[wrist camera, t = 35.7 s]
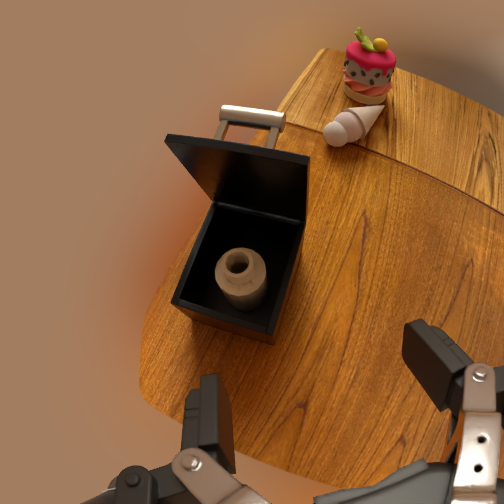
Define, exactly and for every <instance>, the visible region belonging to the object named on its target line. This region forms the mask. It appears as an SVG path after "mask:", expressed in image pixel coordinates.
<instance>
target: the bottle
mask: <svg viewBox="0 0 504 504" xmlns="http://www.w3.org/2000/svg"><path fill="white" fill-rule="evenodd" d="M215 278H216V281H217V283H218V285H219V286H220V288H221V290H222V291H223V293H224V295H225V296H226V298H227V300H228V301H229V303H230V304H231V305H232V306H233V307H234V308H236V309H238V310H241V311H252V310H255V309H257V308H259V307H260V306H261V305H262V304H263V303H264V302H265V300H266V298H267V295H268V283H267V274H266V267H265V262H264V261H263V259H262V258H261V256H260V255H259V254H258V253H256V252H255V251H253V250H251V249H247V248H236V249H232V250H229V251H228V252H226V253H224V254H223V256H222V257H221V258H220V259H219V260H218V262H217V265H216V268H215Z"/></svg>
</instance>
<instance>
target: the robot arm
mask: <svg viewBox="0 0 504 504" xmlns="http://www.w3.org/2000/svg"><path fill="white" fill-rule="evenodd" d="M402 356H403V360H404V362H405V364H406V365H407V366H408V368H409V369H410V370H411V372H412V373H413V375H414V376H415V377H416V379H417V380H418V381H419V383H420V384H421V386H422V387H423V388H424V390H425V391H426V393H427V394H428V395H429V397H430V398H431V400H432V401H433V403H434V404H435V405H436V407H437V408H438V410H439V411H440V412H441V411H443V410H445V409H447V408H449V409H450V410H451V413H450V417H449V423H448V430H447V435H446V441H445V446H444V450H443V454H442V457H441V459H440V462H433V463H426V461H425V459H424V458H422V459H420V460H418V461H416V462H413V463H411V464H409V465H407V466H404V467H402V468H400V469H398V470H397V471H395V472H394V473H392V474H391V475H389V476H388V477H386V478H385V479H383V480H382V481H380V482H379V483H377V484H376V485H373V486H368V487H360V488H351V489H342V490H338V491H335V492H331V493H328V494H324V495H320V496H316V497H313V500H314V504H504V480H503V479H500V478H497V475H498V467H499V457H500V443H501V426H502V428H503V429H504V366H500V367H496V368H492V367H491V366H490V365H488V364H486V363H482V362H476V363H474V362H473V361H472V360H471V358H470V357H469V356H468V355H467V354H466V353H465V352H464V351H463V350H462V349H461V348H460V347H459V346H458V345H457V344H455V342H454V341H453V340H452V339H451V338H450V337H449V336H448V335H447V334H446V333H445V332H444V331H443V330H441V329H439V328H437V327H435V326H431V327H430V326H429V325H428V324H427V323H426V322H425V321H424V320H423V319H417V320H415V321H412V322H409V323H406V324H405V326H404V333H403V344H402ZM184 410H185V411H184V419H183V429H182V441H181V450H180V452H179V453H178V454H177V455H176V456H175V457H174V459H173V461H172V462H171V463H169V464H168V465H165V466H162V467H159V468H156V469H153V470H150V471H148V470H147V469H146V468H144V467H142V466H130V467H127V468H125V469H124V470H122V471H121V472H120V474H119V475H118V477H117V481H116V487H115V488H112V489H107V490H108V491H107V490H103V491H106V492H104V493H102V494H100V495H98V496H96V497H94V498H92V499H90V500H87V501H85V502H83V503H81V504H272V503H270V502H269V501H267V500H266V499H265V498H263V497H262V496H261V495H260V494H258V493H257V492H256V491H254V490H253V489H252V488H251V487H249V486H247V485H246V484H245V485H243V484H241V483H240V482H239V481H238V480H237V479H235V478H234V477H233V476H232V475H231V474H236V469H235V455H234V440H233V425H232V410H231V404H230V400H229V396H228V394H227V391H226V389H225V386H224V384H223V381H222V378H221V376H220V374H219V373H214V374H209V375H203V376H201V378H200V388H199V389H192V390H191V391H190V392H189V394H188V396H187V397H186V399H185V407H184Z"/></svg>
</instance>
